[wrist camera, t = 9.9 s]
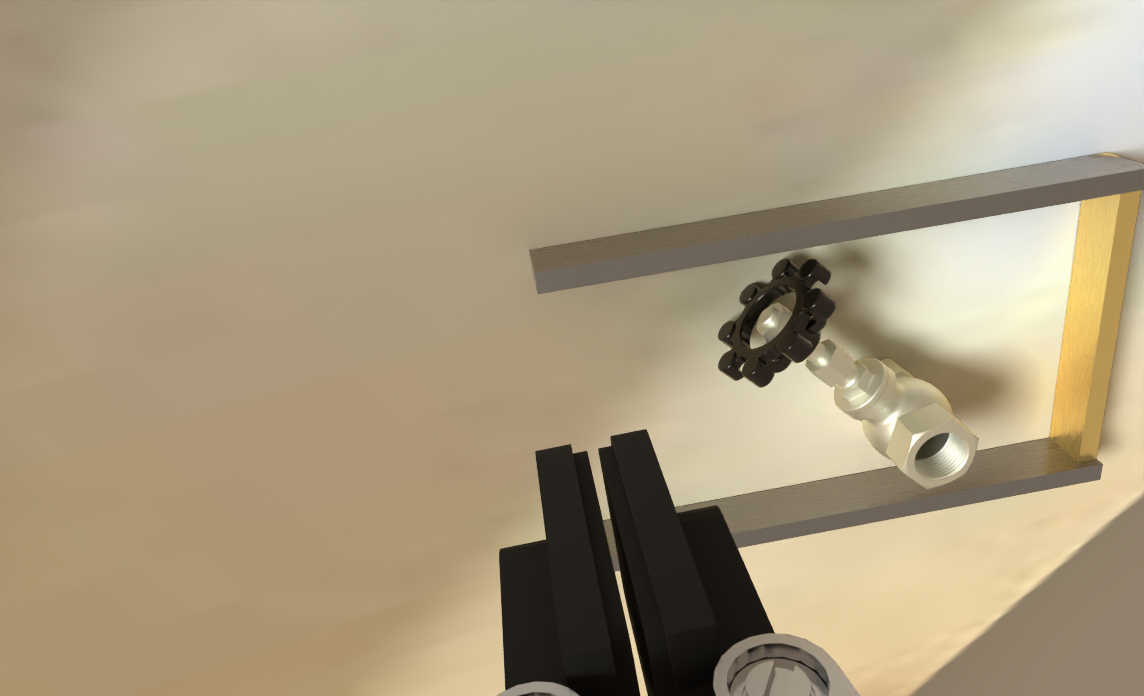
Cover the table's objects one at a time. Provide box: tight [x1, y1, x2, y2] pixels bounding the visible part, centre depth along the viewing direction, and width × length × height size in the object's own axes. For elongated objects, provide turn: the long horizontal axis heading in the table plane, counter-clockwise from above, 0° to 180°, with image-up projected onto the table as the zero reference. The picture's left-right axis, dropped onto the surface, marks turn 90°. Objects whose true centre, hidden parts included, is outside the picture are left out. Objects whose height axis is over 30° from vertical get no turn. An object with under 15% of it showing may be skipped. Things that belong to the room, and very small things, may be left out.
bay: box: [529, 152, 1144, 571], centre depth 42 cm, size 28×17×3 cm, turn 98°
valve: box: [718, 258, 979, 489], centre depth 41 cm, size 7×7×12 cm
